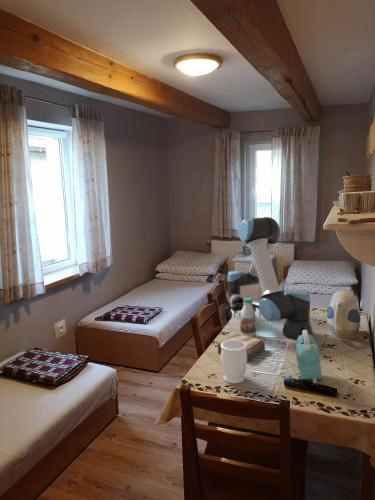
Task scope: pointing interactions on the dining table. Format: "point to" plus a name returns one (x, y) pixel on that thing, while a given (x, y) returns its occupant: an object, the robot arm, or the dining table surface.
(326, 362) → the dining table surface
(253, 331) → the milk bottle
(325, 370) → the dining table surface
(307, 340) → the alarm clock
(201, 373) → the dining table surface
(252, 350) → the walnut stand
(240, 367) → the jar
